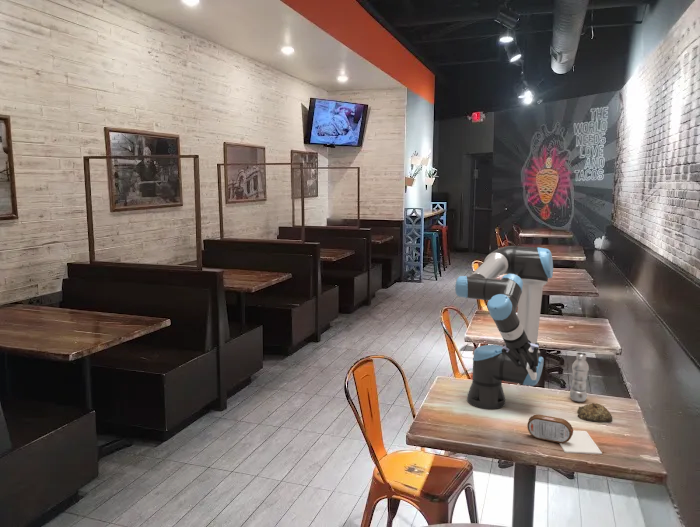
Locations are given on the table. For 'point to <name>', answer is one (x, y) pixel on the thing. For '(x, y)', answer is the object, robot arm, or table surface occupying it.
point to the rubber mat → (580, 444)
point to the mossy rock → (594, 413)
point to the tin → (550, 428)
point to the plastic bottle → (579, 378)
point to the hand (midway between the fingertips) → (534, 376)
